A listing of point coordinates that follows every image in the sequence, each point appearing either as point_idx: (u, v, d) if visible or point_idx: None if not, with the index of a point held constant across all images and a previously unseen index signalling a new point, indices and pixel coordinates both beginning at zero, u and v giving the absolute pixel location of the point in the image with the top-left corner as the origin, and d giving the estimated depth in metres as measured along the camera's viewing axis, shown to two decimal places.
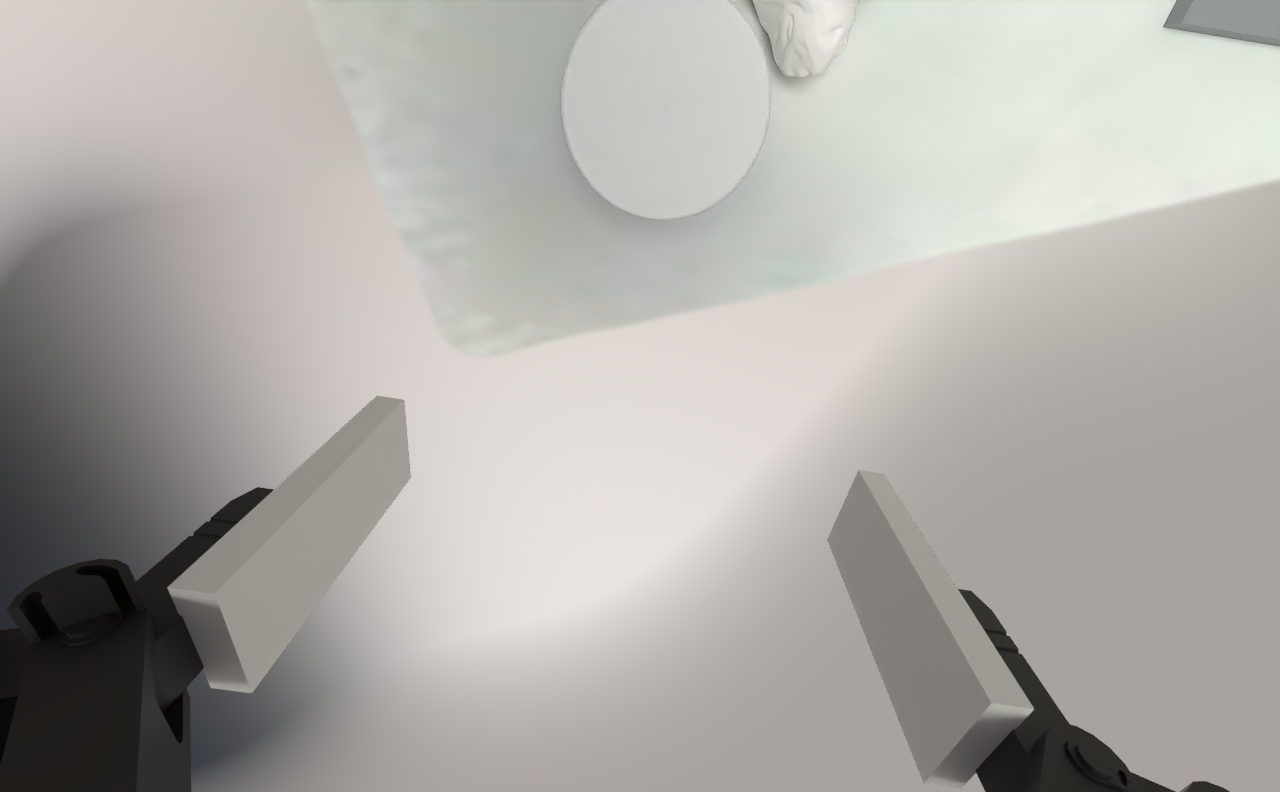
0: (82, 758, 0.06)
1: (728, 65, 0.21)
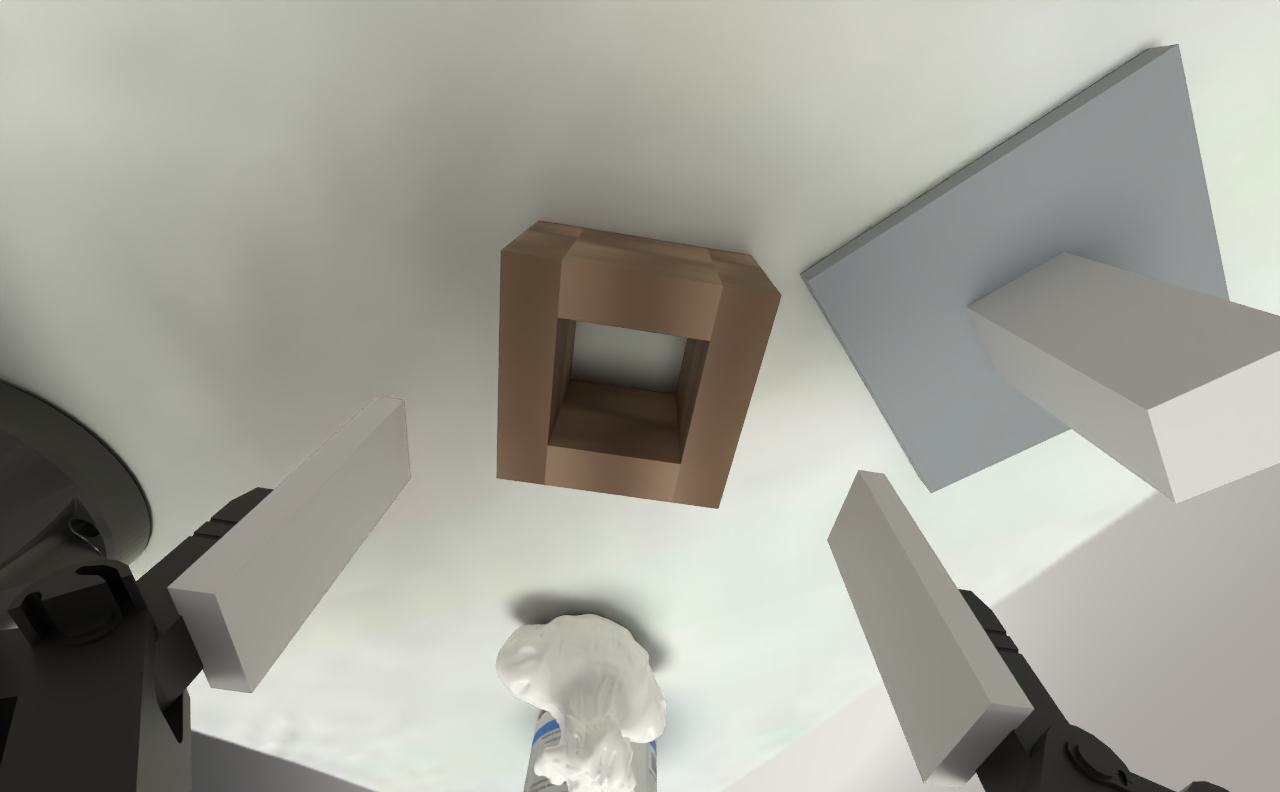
0: (82, 758, 0.06)
1: None
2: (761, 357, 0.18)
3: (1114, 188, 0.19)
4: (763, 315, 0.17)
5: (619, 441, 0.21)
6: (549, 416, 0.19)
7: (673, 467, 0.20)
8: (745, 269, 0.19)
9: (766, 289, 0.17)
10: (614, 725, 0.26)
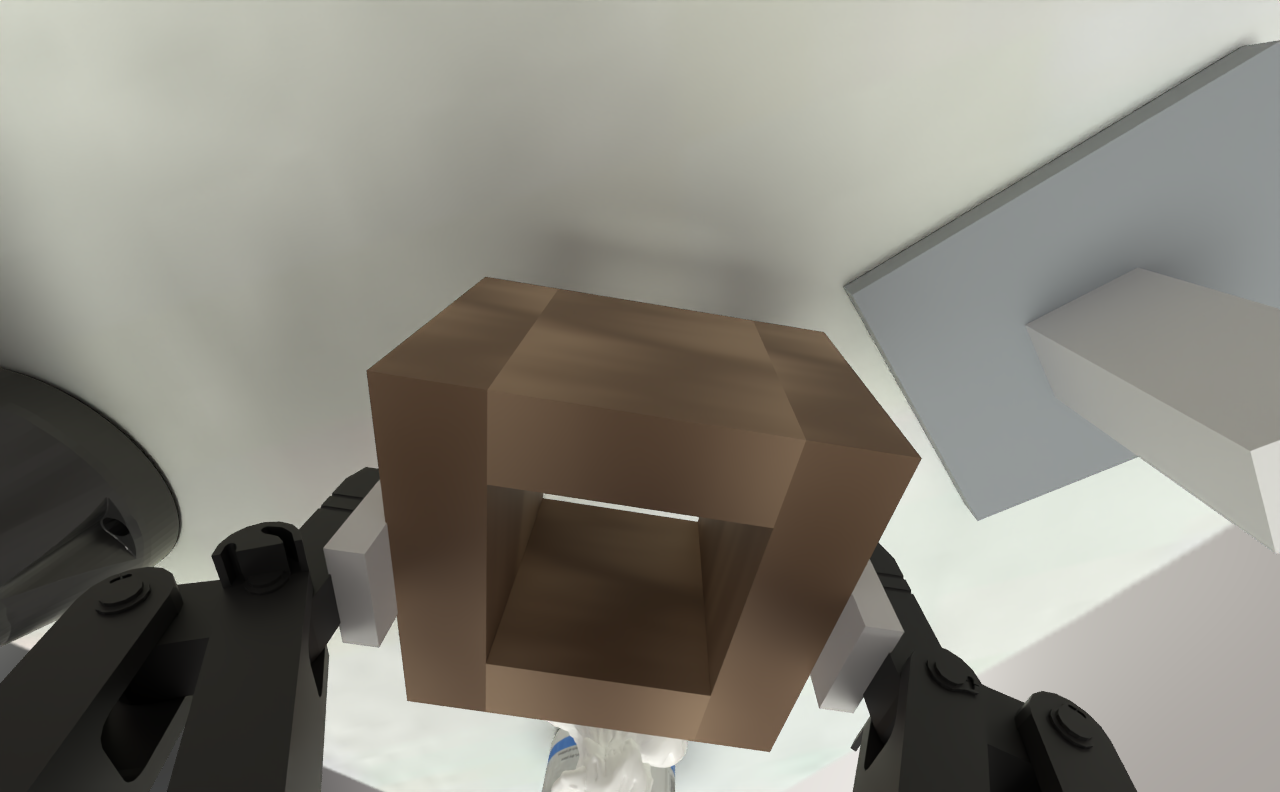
0: (252, 698, 0.07)
1: None
2: (868, 555, 0.09)
3: (1198, 198, 0.17)
4: (880, 490, 0.09)
5: (609, 642, 0.13)
6: (485, 625, 0.11)
7: (698, 699, 0.12)
8: (828, 374, 0.11)
9: (885, 438, 0.09)
10: (634, 751, 0.25)
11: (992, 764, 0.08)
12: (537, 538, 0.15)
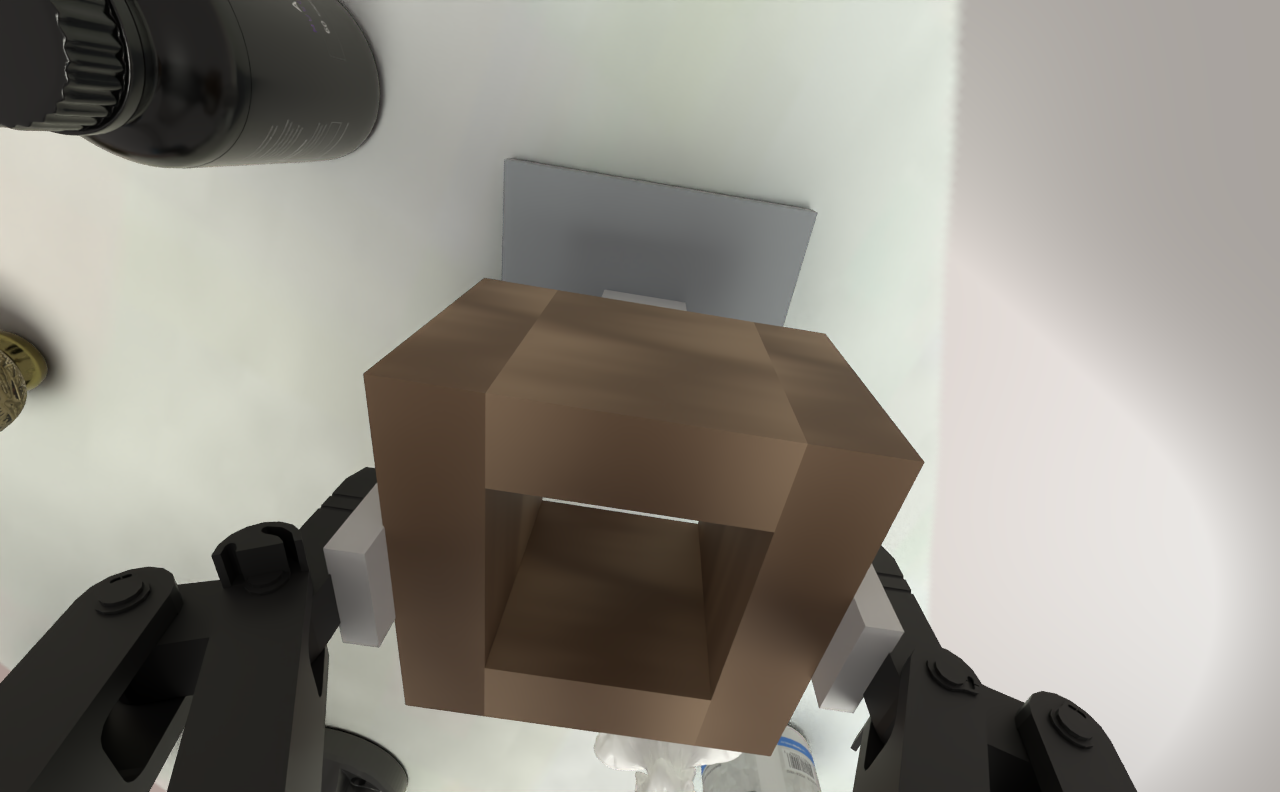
0: (253, 697, 0.07)
1: None
2: (870, 560, 0.09)
3: (580, 238, 0.23)
4: (882, 494, 0.09)
5: (608, 645, 0.13)
6: (484, 629, 0.11)
7: (698, 703, 0.12)
8: (829, 377, 0.11)
9: (888, 442, 0.09)
10: (659, 767, 0.32)
11: (991, 764, 0.08)
12: (536, 540, 0.15)
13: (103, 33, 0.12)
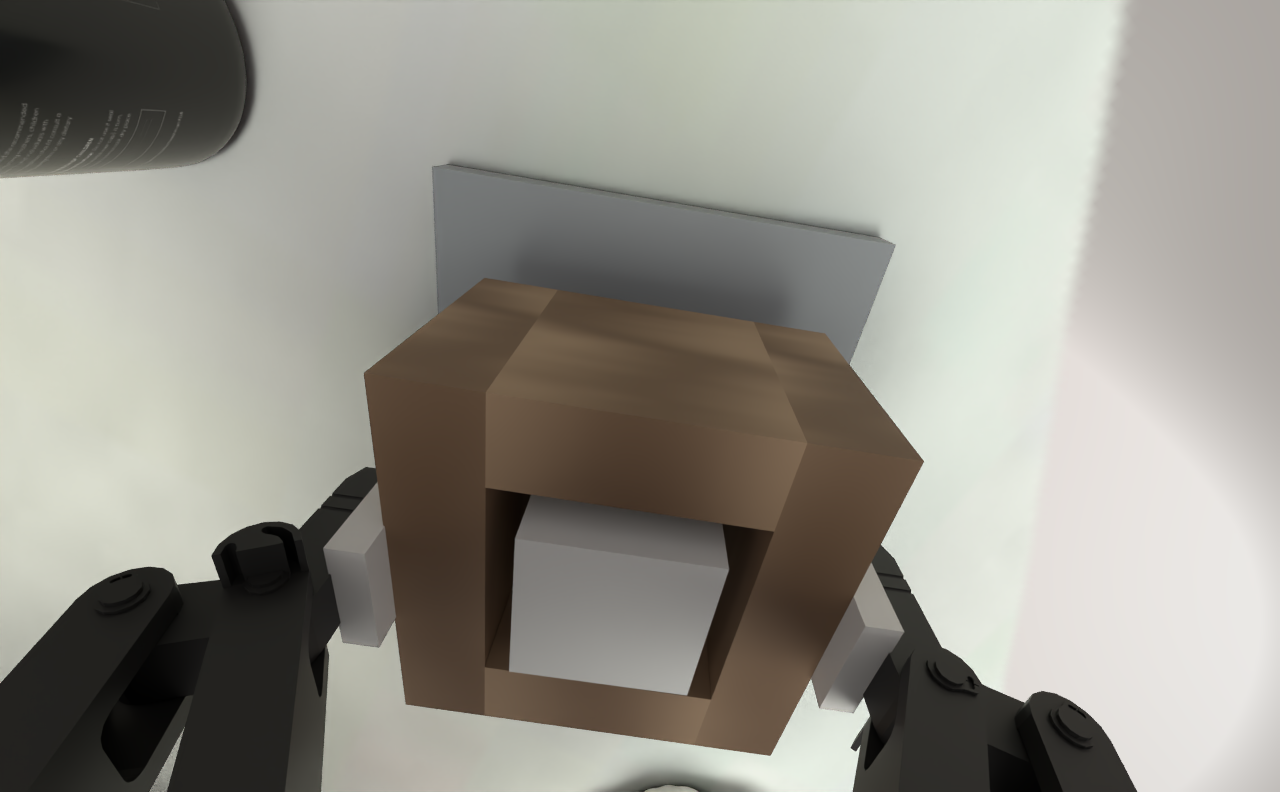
0: (253, 698, 0.07)
1: None
2: (870, 559, 0.09)
3: (548, 280, 0.16)
4: (882, 493, 0.09)
5: None
6: (484, 628, 0.11)
7: (698, 703, 0.12)
8: (829, 376, 0.11)
9: (888, 441, 0.09)
10: None
11: (992, 764, 0.08)
12: None
13: None
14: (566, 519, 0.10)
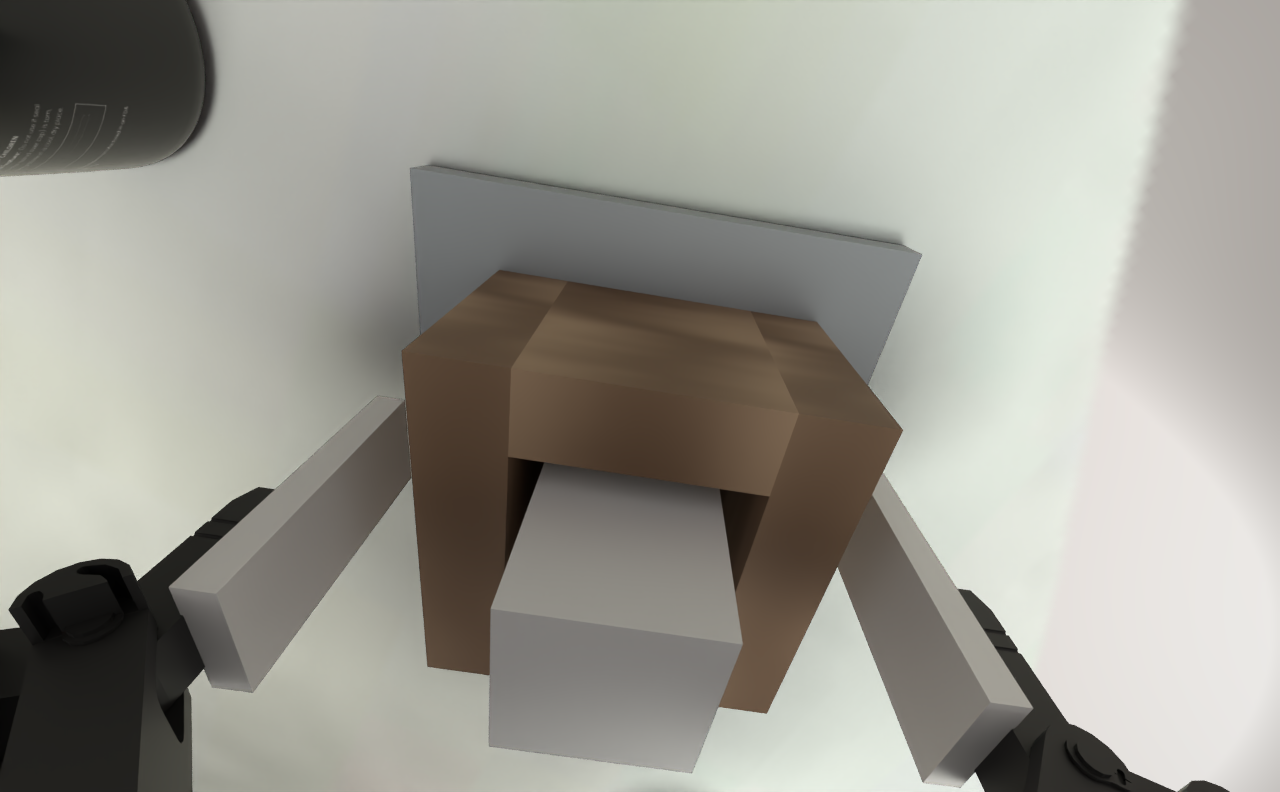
0: (83, 758, 0.06)
1: None
2: (856, 521, 0.10)
3: None
4: (866, 460, 0.10)
5: None
6: None
7: None
8: (820, 359, 0.12)
9: (871, 413, 0.10)
10: None
11: None
12: None
13: None
14: (552, 580, 0.08)
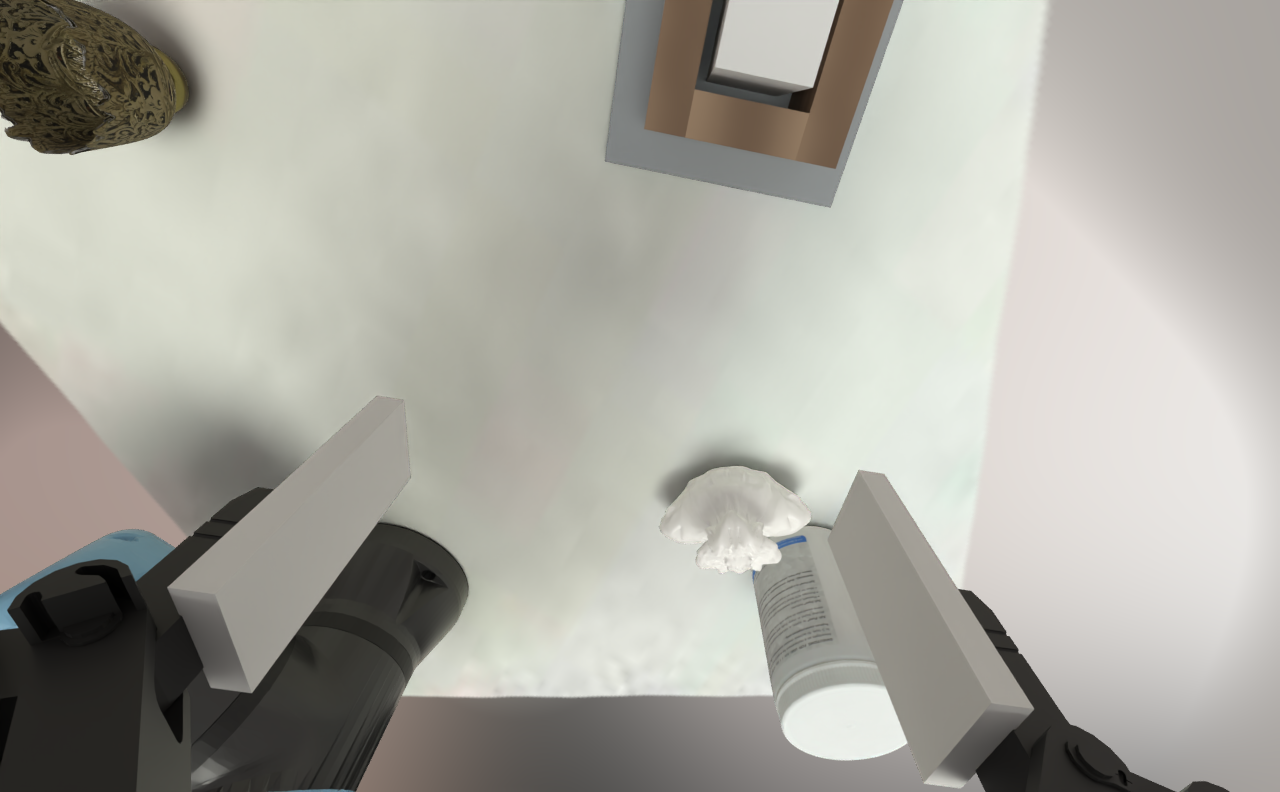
0: (82, 758, 0.06)
1: (835, 701, 0.32)
2: None
3: None
4: None
5: None
6: (701, 55, 0.22)
7: (802, 116, 0.23)
8: None
9: None
10: (731, 513, 0.34)
11: None
12: None
13: None
14: None
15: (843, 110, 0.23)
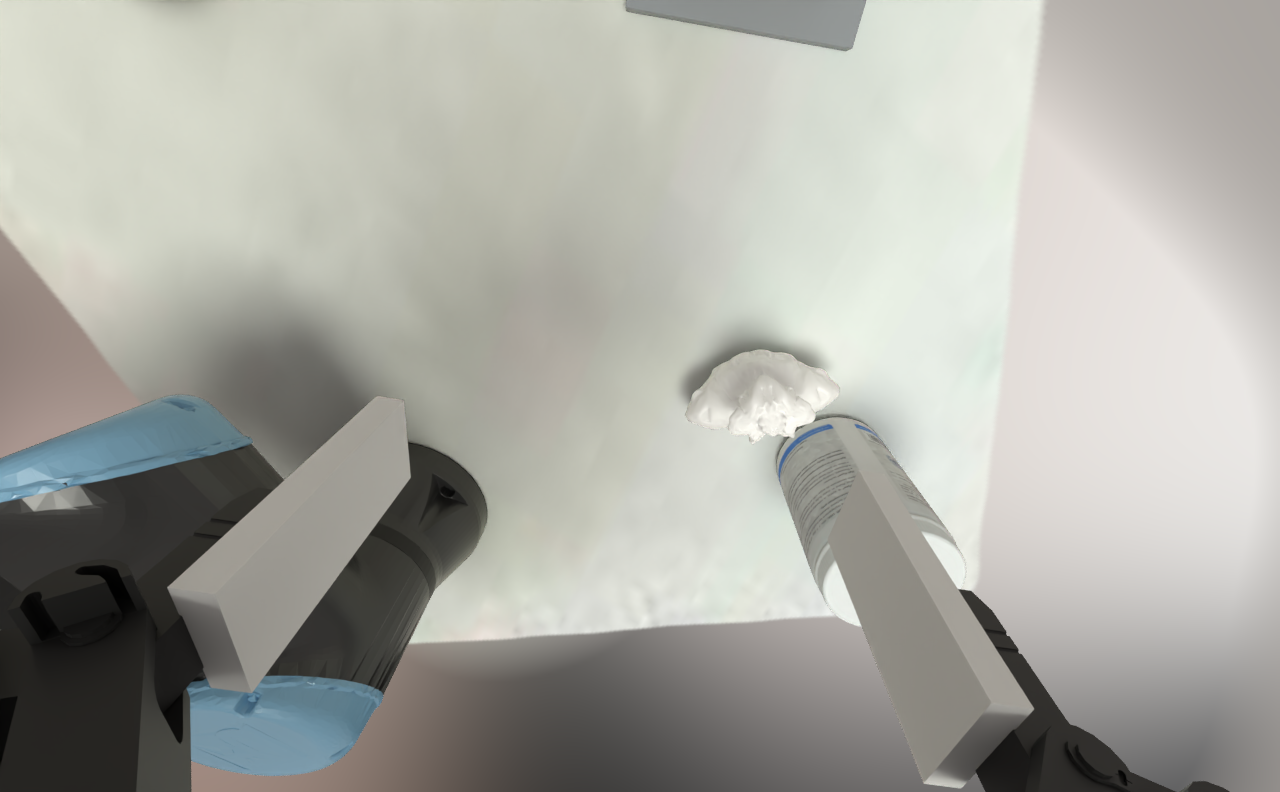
0: (82, 758, 0.06)
1: None
2: None
3: None
4: None
5: None
6: None
7: None
8: None
9: None
10: (762, 376, 0.34)
11: None
12: None
13: None
14: None
15: None
